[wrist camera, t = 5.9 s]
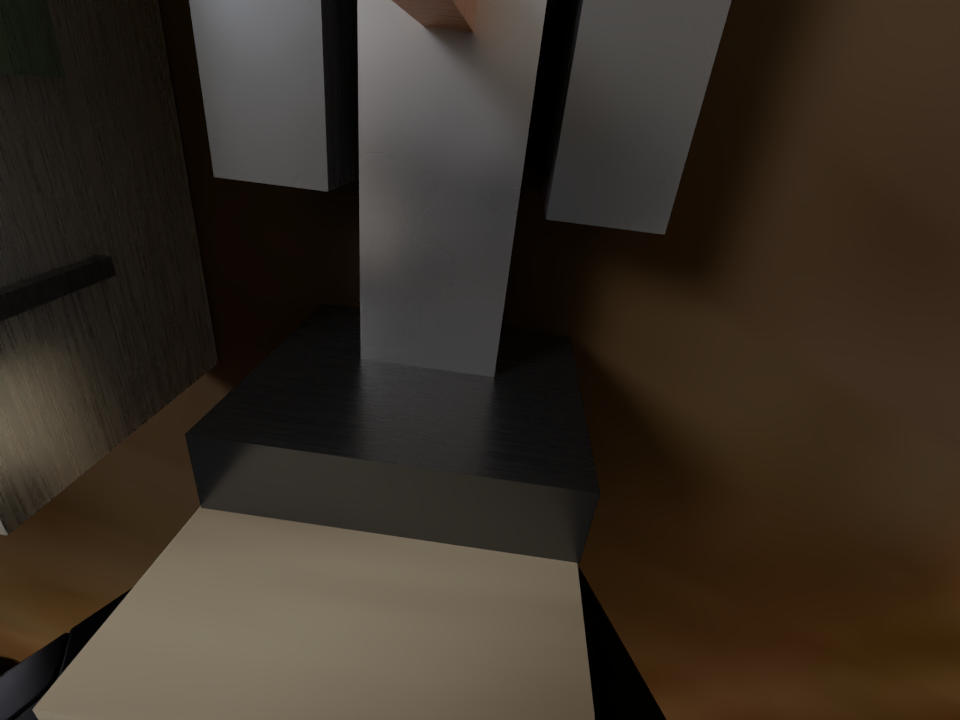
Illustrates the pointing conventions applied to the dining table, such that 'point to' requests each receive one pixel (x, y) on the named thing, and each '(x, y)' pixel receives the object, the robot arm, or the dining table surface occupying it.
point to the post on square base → (422, 321)
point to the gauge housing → (247, 157)
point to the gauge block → (332, 632)
